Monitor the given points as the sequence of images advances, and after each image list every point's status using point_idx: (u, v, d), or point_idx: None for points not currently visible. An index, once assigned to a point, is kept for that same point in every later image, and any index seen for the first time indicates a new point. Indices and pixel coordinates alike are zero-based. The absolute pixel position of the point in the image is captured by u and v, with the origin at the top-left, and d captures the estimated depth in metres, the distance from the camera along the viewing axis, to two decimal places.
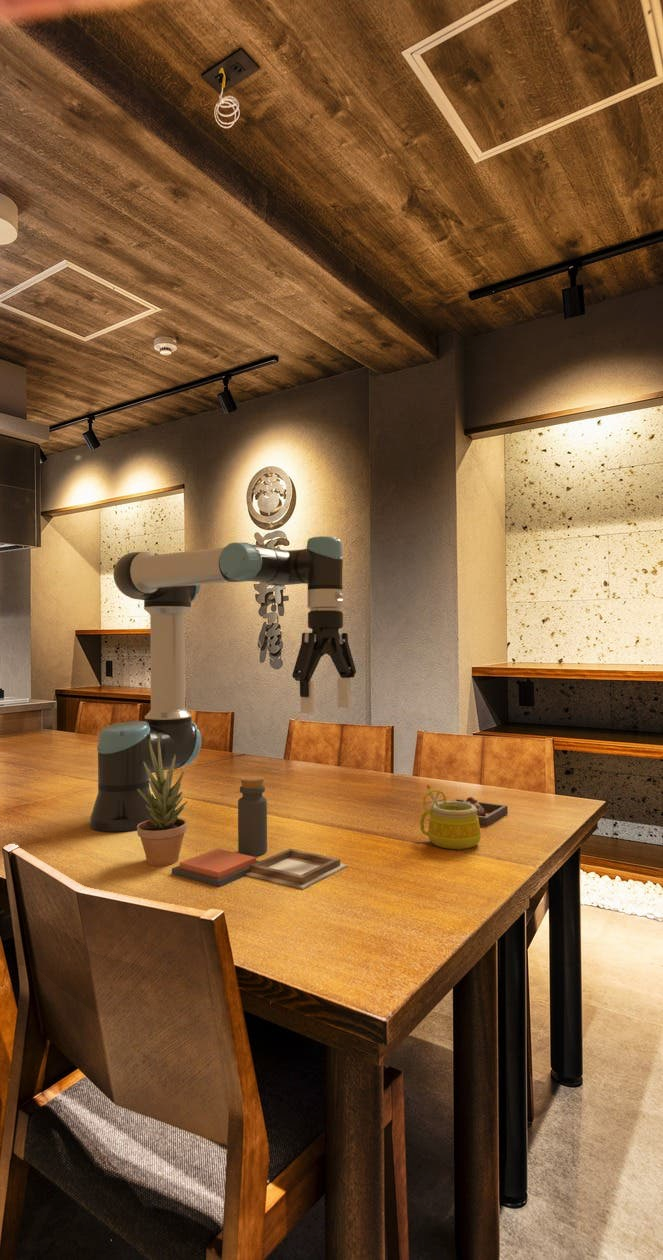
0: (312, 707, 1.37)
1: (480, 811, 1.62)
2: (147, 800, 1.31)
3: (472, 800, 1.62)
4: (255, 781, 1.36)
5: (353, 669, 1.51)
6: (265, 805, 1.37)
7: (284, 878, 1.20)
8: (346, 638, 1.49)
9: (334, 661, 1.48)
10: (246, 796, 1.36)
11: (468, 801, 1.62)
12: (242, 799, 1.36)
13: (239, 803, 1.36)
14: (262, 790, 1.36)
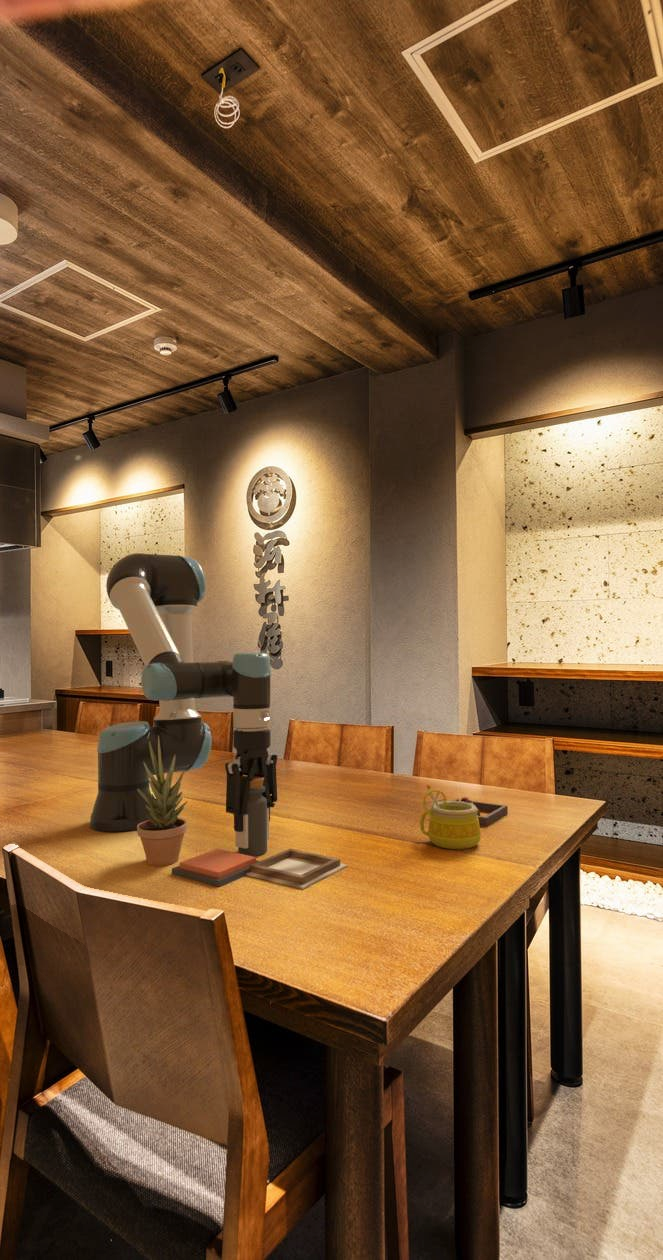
0: (247, 841, 1.34)
1: None
2: (147, 800, 1.31)
3: (466, 800, 1.62)
4: (255, 781, 1.36)
5: (274, 796, 1.42)
6: (265, 805, 1.37)
7: (284, 878, 1.20)
8: (275, 761, 1.42)
9: None
10: None
11: (462, 801, 1.62)
12: None
13: None
14: (262, 790, 1.36)
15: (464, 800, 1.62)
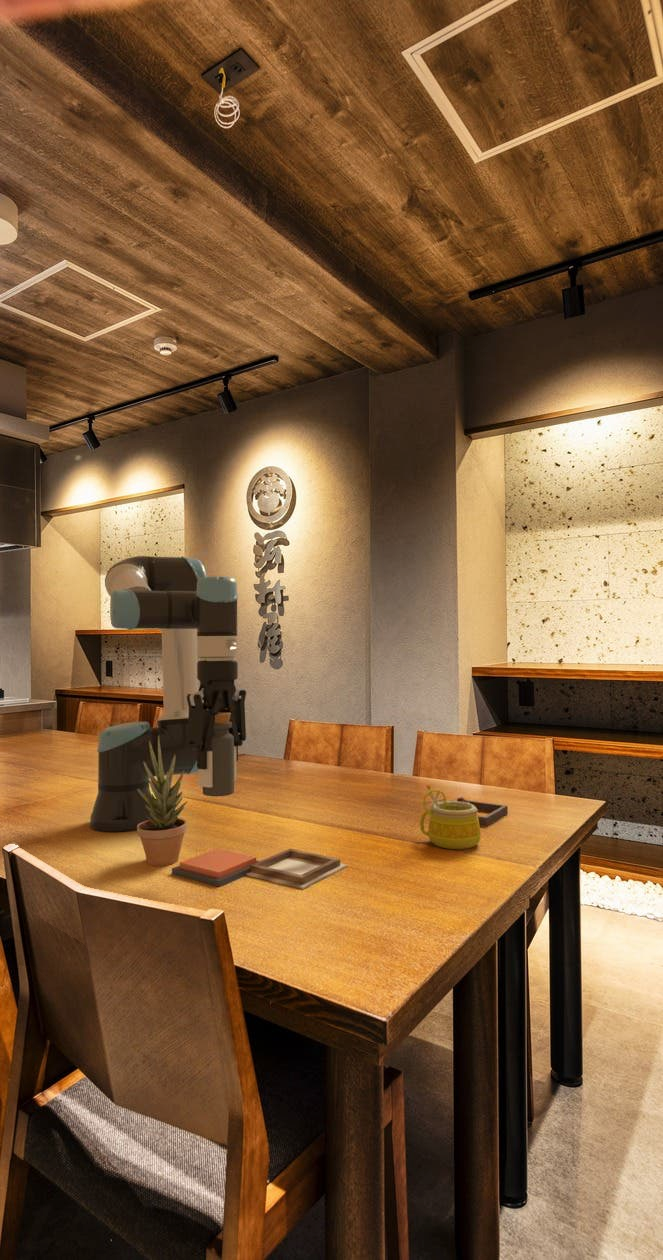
0: (211, 780, 1.23)
1: None
2: (147, 800, 1.31)
3: (463, 800, 1.62)
4: (220, 715, 1.25)
5: (243, 734, 1.31)
6: (232, 742, 1.26)
7: (284, 878, 1.20)
8: (244, 697, 1.31)
9: None
10: None
11: None
12: None
13: None
14: (228, 725, 1.26)
15: (460, 800, 1.62)
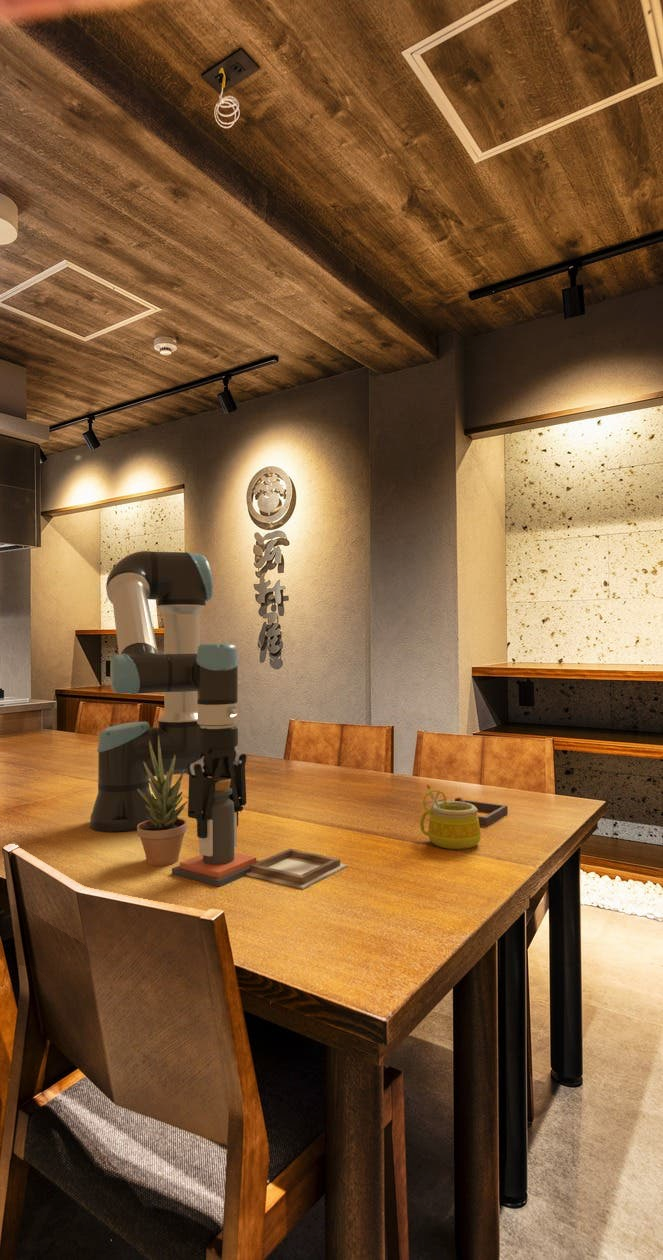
0: (211, 849, 1.23)
1: None
2: (147, 800, 1.31)
3: (460, 800, 1.62)
4: (221, 783, 1.25)
5: (243, 799, 1.31)
6: (232, 809, 1.26)
7: (284, 878, 1.20)
8: (244, 761, 1.31)
9: None
10: None
11: None
12: None
13: None
14: (229, 792, 1.25)
15: (458, 800, 1.62)
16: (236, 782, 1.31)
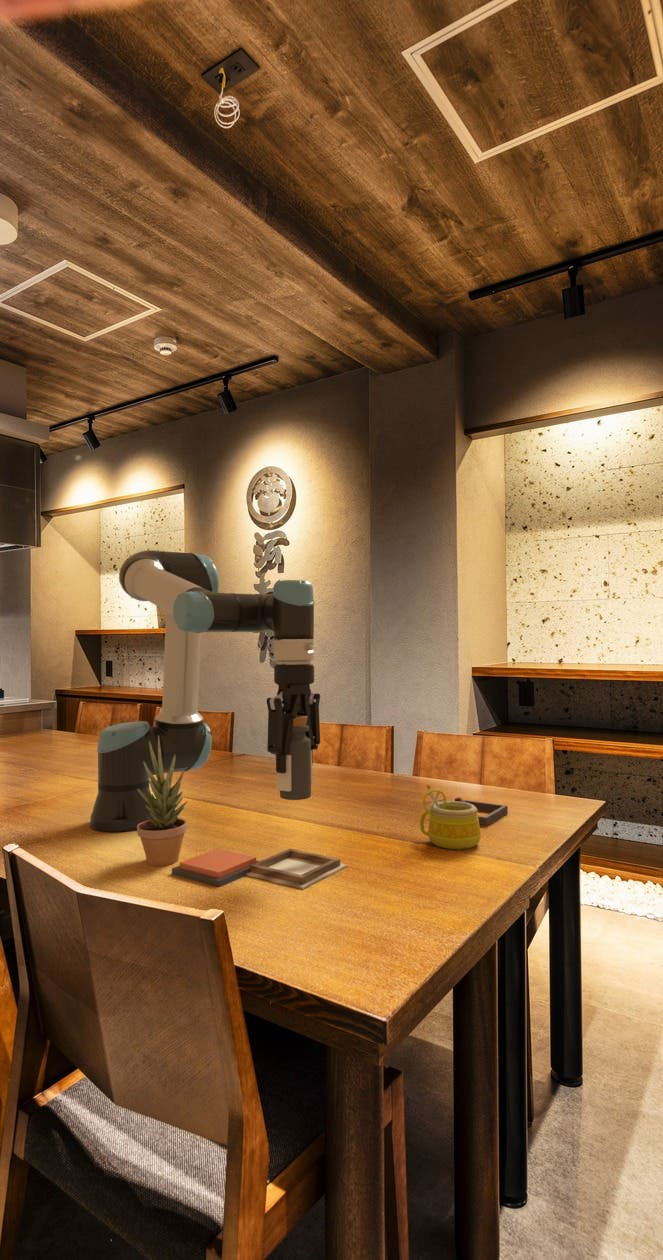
0: (290, 784, 1.23)
1: None
2: (147, 800, 1.31)
3: (460, 800, 1.62)
4: (299, 719, 1.25)
5: (317, 738, 1.31)
6: (309, 745, 1.26)
7: (284, 878, 1.20)
8: (318, 700, 1.31)
9: None
10: None
11: None
12: None
13: None
14: (306, 729, 1.25)
15: (457, 800, 1.62)
16: (310, 721, 1.31)
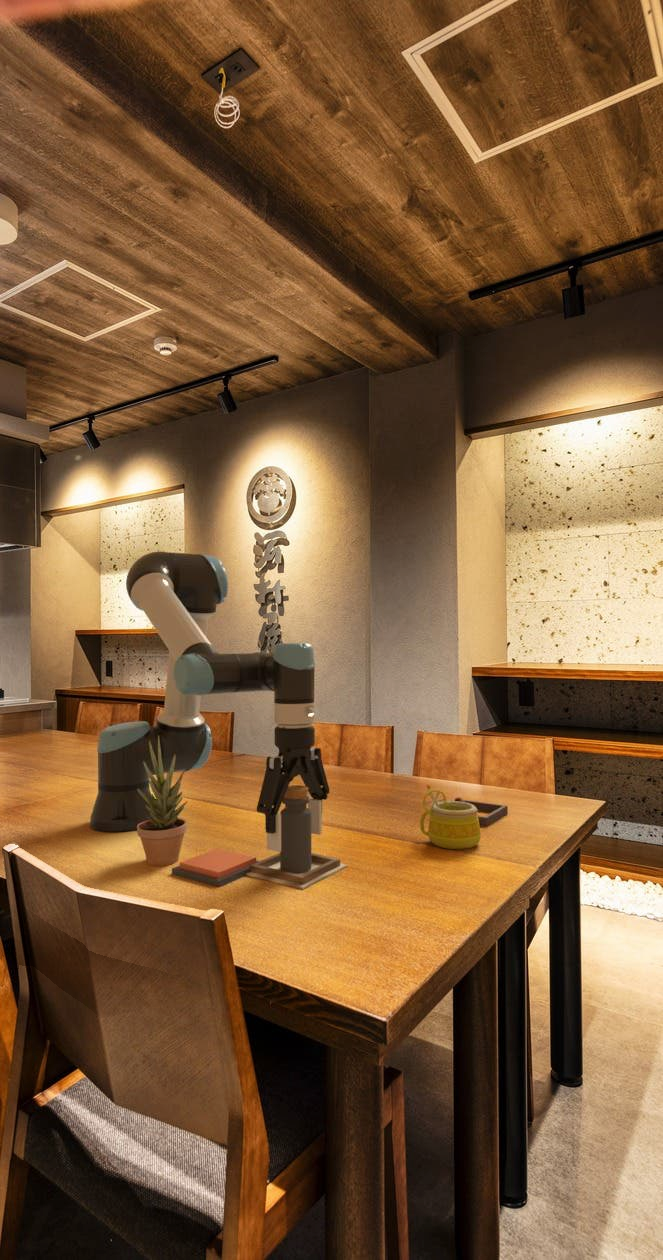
0: (280, 844, 1.20)
1: None
2: (147, 800, 1.31)
3: (460, 800, 1.62)
4: (300, 791, 1.25)
5: (326, 789, 1.33)
6: (310, 817, 1.26)
7: (284, 878, 1.20)
8: (320, 755, 1.31)
9: (304, 781, 1.30)
10: (290, 807, 1.25)
11: None
12: (285, 811, 1.25)
13: (282, 815, 1.25)
14: (307, 801, 1.25)
15: (458, 800, 1.62)
16: (316, 775, 1.32)
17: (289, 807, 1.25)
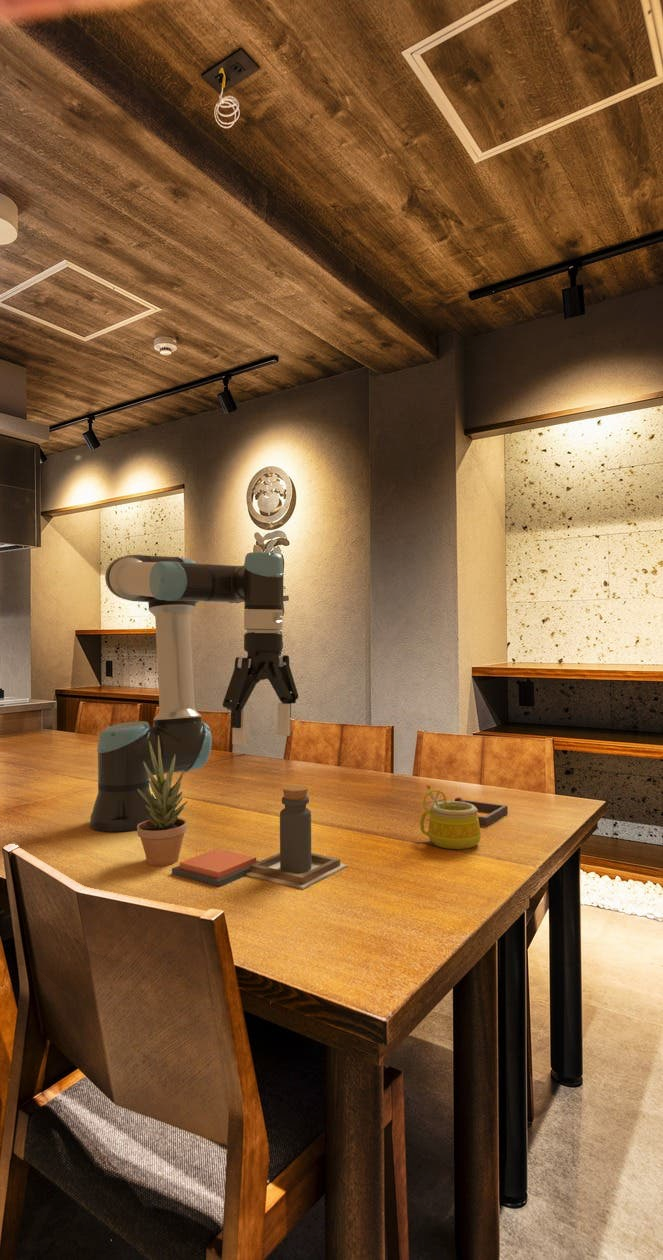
0: (244, 739, 1.26)
1: None
2: (147, 800, 1.31)
3: (460, 800, 1.62)
4: (299, 791, 1.24)
5: (295, 694, 1.40)
6: (310, 817, 1.26)
7: (284, 878, 1.20)
8: (288, 661, 1.37)
9: (273, 686, 1.37)
10: (289, 808, 1.25)
11: None
12: (285, 811, 1.25)
13: (281, 815, 1.25)
14: (306, 801, 1.25)
15: (457, 800, 1.62)
16: (285, 681, 1.39)
17: (289, 807, 1.25)
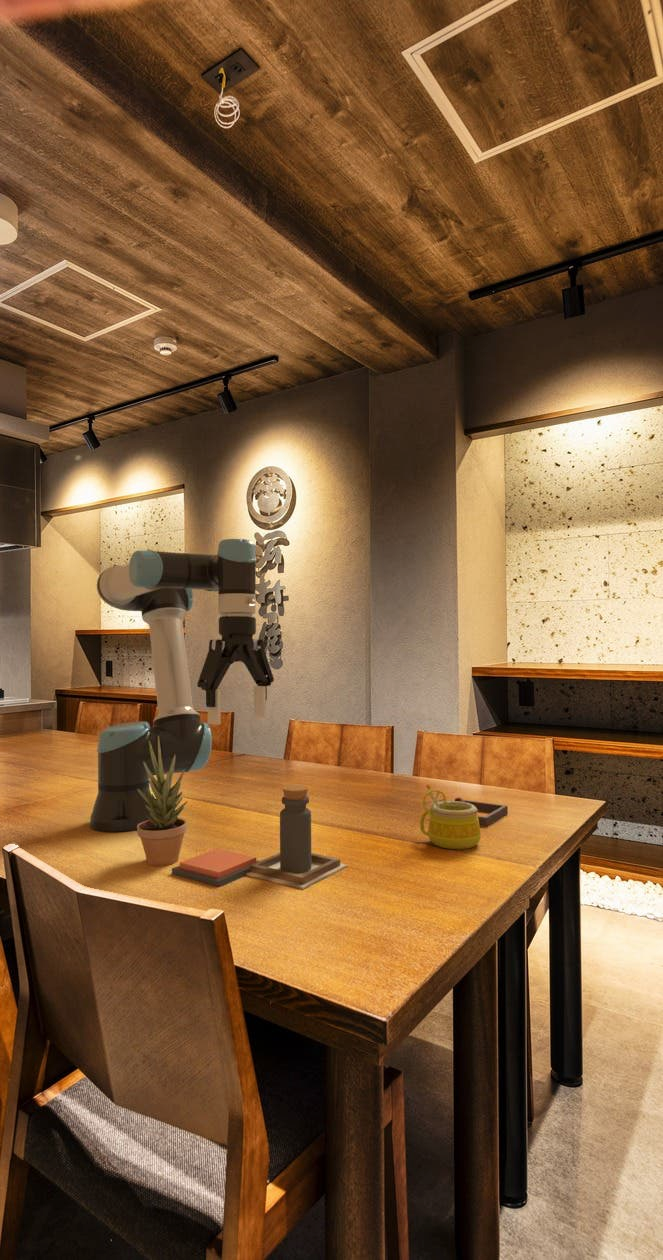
0: (219, 718, 1.31)
1: None
2: (147, 800, 1.31)
3: (460, 800, 1.62)
4: (299, 791, 1.24)
5: (270, 677, 1.44)
6: (310, 817, 1.26)
7: (284, 878, 1.20)
8: (262, 645, 1.42)
9: (249, 669, 1.42)
10: (289, 808, 1.25)
11: None
12: (285, 811, 1.25)
13: (281, 815, 1.25)
14: (306, 801, 1.25)
15: (458, 800, 1.62)
16: (260, 664, 1.44)
17: (289, 807, 1.25)
